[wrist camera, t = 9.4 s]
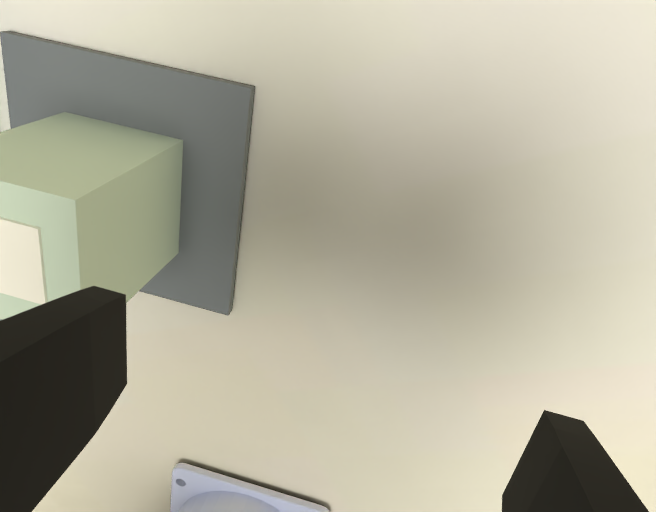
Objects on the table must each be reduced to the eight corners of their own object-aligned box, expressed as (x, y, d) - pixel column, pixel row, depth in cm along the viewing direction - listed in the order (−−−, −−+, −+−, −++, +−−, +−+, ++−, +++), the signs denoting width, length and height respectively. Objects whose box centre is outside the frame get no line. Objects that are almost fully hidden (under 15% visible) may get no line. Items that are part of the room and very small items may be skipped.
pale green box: (178, 252, 21) (81, 345, 15) (72, 225, 21) (-58, 304, 16) (183, 140, 19) (72, 201, 13) (64, 112, 19) (-88, 160, 14)
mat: (231, 310, 22) (228, 315, 21) (32, 255, 23) (25, 260, 22) (254, 86, 18) (250, 88, 17) (8, 30, 19) (-1, 31, 18)
